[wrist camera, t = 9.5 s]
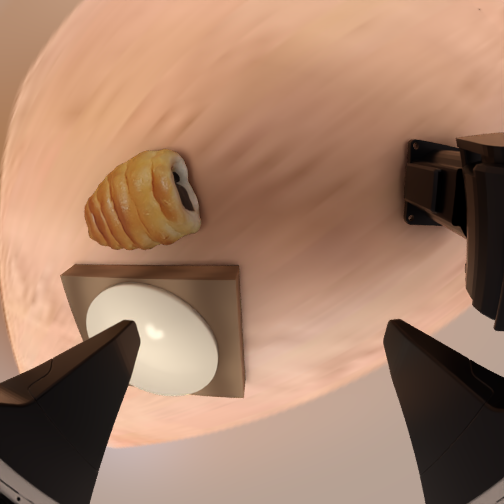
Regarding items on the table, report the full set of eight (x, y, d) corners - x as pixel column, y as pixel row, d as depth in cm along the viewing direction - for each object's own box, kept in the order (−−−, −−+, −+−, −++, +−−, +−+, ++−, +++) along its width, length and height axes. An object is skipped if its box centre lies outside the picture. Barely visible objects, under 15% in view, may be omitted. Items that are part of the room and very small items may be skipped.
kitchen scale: (238, 265, 22) (234, 285, 19) (245, 380, 26) (243, 404, 23) (74, 264, 23) (55, 279, 19) (109, 365, 27) (98, 384, 24)
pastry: (113, 257, 22) (91, 277, 18) (83, 185, 19) (55, 195, 16) (211, 223, 20) (199, 242, 17) (179, 138, 18) (160, 137, 14)
